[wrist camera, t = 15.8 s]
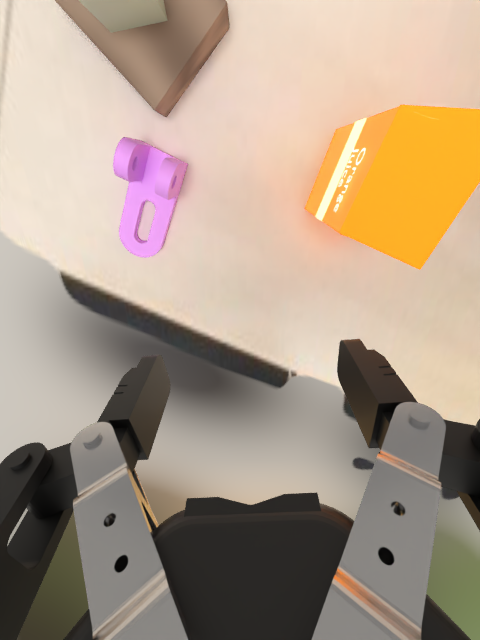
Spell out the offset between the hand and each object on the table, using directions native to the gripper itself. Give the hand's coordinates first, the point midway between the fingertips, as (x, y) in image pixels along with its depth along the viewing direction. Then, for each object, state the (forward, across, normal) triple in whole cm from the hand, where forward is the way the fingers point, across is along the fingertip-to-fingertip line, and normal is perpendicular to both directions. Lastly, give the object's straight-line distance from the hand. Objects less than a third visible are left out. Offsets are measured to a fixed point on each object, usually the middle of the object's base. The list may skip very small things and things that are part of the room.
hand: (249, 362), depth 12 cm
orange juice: (+28, -13, -5) cm, 31 cm away
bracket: (+28, +12, -4) cm, 30 cm away
